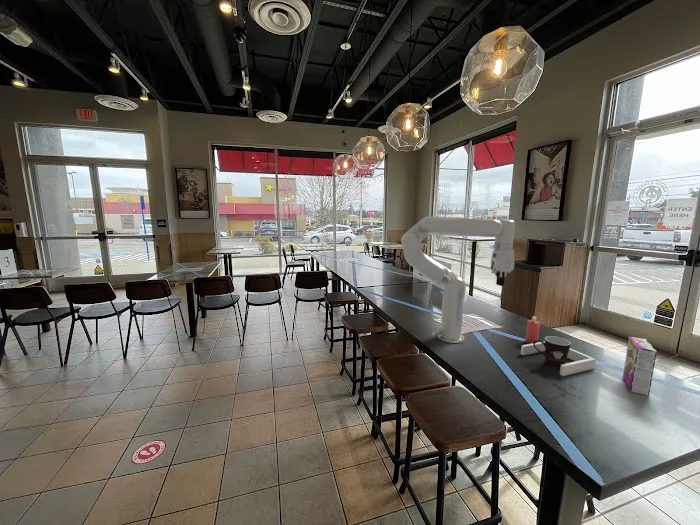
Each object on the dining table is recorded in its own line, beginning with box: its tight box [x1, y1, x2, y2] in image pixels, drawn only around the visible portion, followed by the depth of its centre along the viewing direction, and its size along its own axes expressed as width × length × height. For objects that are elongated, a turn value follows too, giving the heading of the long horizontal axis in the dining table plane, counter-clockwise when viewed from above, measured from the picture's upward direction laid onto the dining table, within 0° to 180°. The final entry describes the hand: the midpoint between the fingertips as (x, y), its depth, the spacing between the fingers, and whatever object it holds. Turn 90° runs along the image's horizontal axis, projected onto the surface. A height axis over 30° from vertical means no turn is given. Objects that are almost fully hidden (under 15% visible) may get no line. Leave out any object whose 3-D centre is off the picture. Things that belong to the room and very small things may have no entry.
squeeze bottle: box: [525, 316, 541, 344], centre depth 138 cm, size 5×5×12 cm
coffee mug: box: [533, 335, 572, 369], centre depth 119 cm, size 12×9×10 cm
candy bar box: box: [622, 336, 657, 397], centre depth 102 cm, size 11×5×16 cm, turn 148°
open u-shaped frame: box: [520, 340, 597, 377], centre depth 121 cm, size 17×18×4 cm
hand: (500, 285), depth 138 cm, fingers closed
